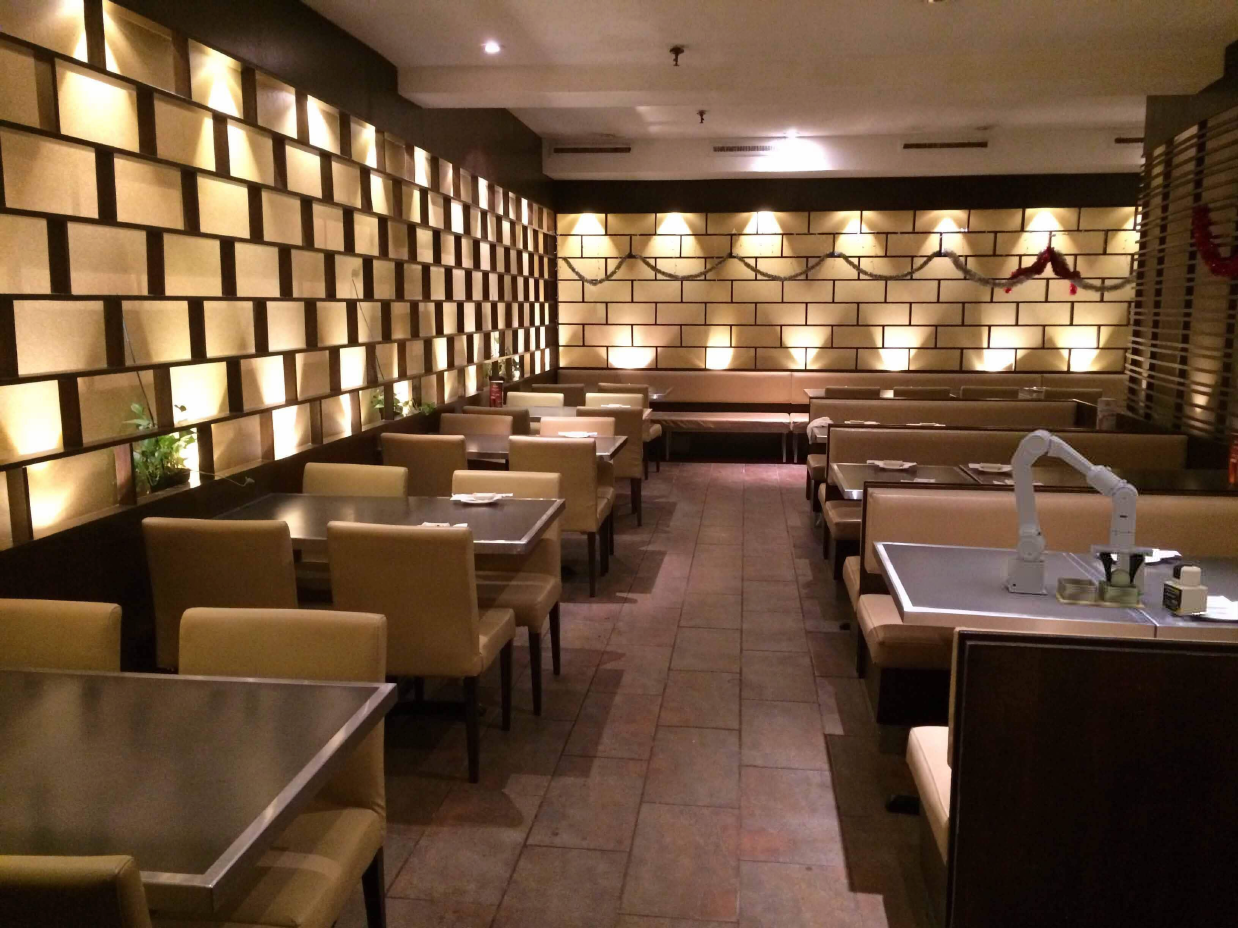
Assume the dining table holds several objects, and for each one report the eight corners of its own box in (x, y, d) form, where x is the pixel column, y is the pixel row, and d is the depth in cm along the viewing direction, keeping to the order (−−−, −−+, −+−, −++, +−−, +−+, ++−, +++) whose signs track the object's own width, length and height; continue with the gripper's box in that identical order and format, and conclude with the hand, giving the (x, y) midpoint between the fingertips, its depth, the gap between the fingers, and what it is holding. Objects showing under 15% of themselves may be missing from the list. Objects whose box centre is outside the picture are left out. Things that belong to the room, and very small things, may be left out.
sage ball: (1110, 589, 254) (1112, 570, 253) (1106, 584, 259) (1107, 566, 258) (1131, 590, 253) (1133, 571, 252) (1127, 585, 257) (1128, 567, 257)
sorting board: (1060, 603, 254) (1061, 586, 253) (1053, 593, 264) (1054, 576, 264) (1145, 609, 249) (1146, 592, 248) (1134, 598, 259) (1135, 581, 259)
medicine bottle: (1161, 608, 250) (1164, 562, 249) (1187, 607, 251) (1191, 562, 249) (1179, 615, 243) (1183, 569, 242) (1206, 615, 244) (1210, 568, 242)
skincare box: (1136, 590, 267) (1139, 548, 266) (1143, 594, 263) (1146, 551, 262) (1113, 590, 268) (1116, 547, 266) (1120, 594, 264) (1123, 550, 262)
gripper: (1095, 532, 252) (1092, 583, 254) (1157, 535, 248) (1153, 587, 250) (1090, 527, 259) (1086, 576, 260) (1150, 530, 255) (1146, 580, 257)
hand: (1119, 581), depth 256 cm, fingers closed on sage ball, 5 cm apart
